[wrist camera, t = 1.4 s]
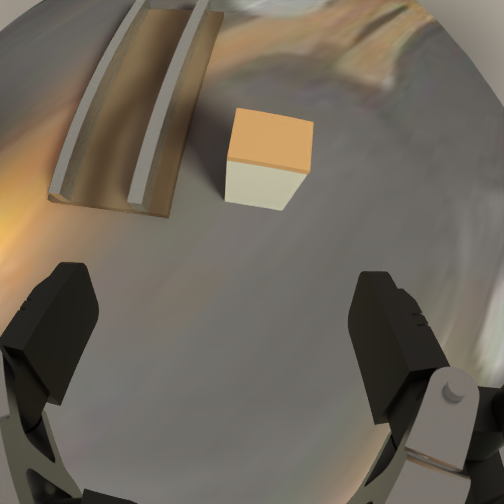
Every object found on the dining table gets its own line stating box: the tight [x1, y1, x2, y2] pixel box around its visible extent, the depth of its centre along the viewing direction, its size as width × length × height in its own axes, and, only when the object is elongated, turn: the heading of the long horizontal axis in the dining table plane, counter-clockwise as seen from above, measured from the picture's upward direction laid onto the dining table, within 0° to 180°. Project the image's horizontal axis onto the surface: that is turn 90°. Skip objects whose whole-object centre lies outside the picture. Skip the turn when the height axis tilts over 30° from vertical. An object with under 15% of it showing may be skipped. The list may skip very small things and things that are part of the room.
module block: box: [225, 108, 313, 211], centre depth 23 cm, size 5×4×9 cm
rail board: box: [48, 0, 224, 218], centre depth 26 cm, size 12×26×4 cm, turn 172°
